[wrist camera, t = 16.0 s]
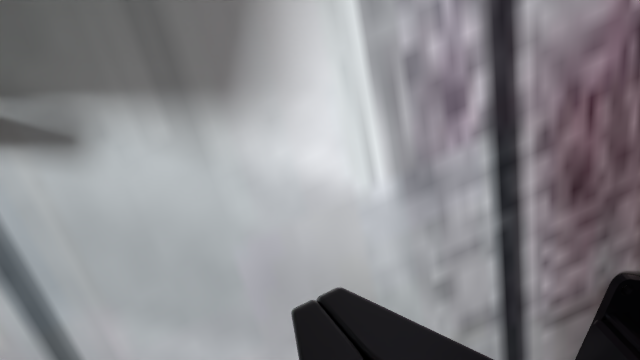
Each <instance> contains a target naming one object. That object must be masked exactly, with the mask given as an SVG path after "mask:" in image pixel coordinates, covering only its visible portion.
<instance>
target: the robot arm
mask: <svg viewBox="0 0 640 360" xmlns="http://www.w3.org/2000/svg"><path fill="white" fill-rule="evenodd" d="M625 285H627V286H626V287H625V288H624V289H622V288H623V287H624V286H625ZM621 289H622V290H621ZM292 320H293V326H294V332H295V338H296V344H297V350H298V356H299V360H493V359H491V358H489V357H487V356H485V355H483V354H481V353H479V352H476V351H474V350H472V349H470V348H468V347H466V346H464V345H462V344H460V343H458V342H455V341H453V340H451V339H449V338H447V337H445V336H443V335H441V334H439V333H436V332H434V331H432V330H430V329H428V328H426V327H424V326H422V325H420V324H418V323H415V322H413V321H411V320H409V319H407V318H405V317H403V316H401V315H399V314H397V313H394V312H392V311H390V310H388V309H386V308H384V307H382V306H380V305H378V304H376V303H373V302H371V301H369V300H367V299H365V298H363V297H361V296H359V295H357V294H355V293H352V292H350V291H348V290H346V289H344V288H335V289H333V290H331V291H329V292H327V293H325V294H323V295H321V296H319V297H318V298H317V301H315V300H310V301H308V302H306V303H304V304H302V305H300V306H298V307H296V308H294V309H293V310H292ZM575 360H640V276H636V275H629V274H621V275H618V276H616V277H615V278H614V279H613V280H612V281H611V283H610V285H609V287H608V289H607V291H606V294H605V296H604V298H603V300H602V302H601V305H600V307H599V309H598V311H597V313H596V315H595V318H594V320H593V322H592V324H591V326H590V328H589V331H588V333H587V335H586V337H585V339H584V342H583V344H582V346H581V348H580V350H579V352H578V355H577V357H576V359H575Z"/></svg>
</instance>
